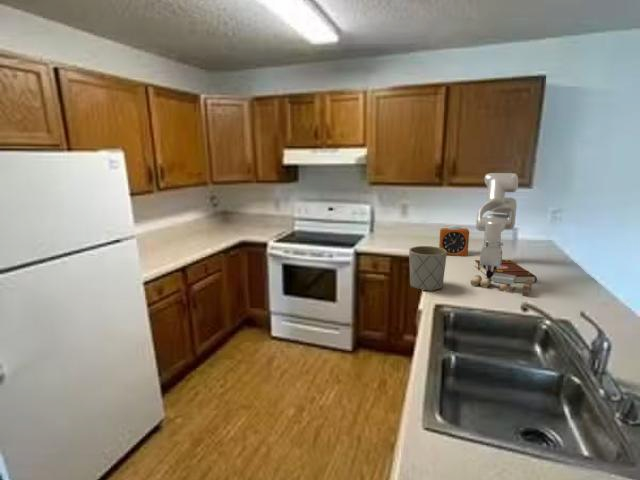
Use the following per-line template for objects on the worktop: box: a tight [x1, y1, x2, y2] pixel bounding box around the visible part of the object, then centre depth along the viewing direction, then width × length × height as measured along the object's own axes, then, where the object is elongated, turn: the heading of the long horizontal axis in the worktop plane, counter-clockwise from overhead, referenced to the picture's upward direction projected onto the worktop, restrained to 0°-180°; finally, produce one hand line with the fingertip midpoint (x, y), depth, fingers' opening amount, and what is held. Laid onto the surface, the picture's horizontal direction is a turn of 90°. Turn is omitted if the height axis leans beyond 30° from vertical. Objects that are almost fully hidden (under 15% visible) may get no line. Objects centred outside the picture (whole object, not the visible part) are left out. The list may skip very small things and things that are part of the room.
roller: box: [499, 283, 512, 293], centre depth 197 cm, size 8×4×4 cm, turn 145°
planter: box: [408, 245, 447, 292], centre depth 202 cm, size 19×19×20 cm
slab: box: [492, 273, 516, 286], centre depth 197 cm, size 8×10×2 cm
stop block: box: [522, 280, 533, 298], centre depth 191 cm, size 12×2×5 cm, turn 145°
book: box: [474, 259, 538, 284], centre depth 221 cm, size 23×32×5 cm
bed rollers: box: [470, 274, 517, 294], centre depth 200 cm, size 9×21×4 cm, turn 55°
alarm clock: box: [438, 225, 470, 257], centre depth 262 cm, size 18×9×21 cm, turn 76°
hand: (489, 277), depth 201 cm, fingers closed
